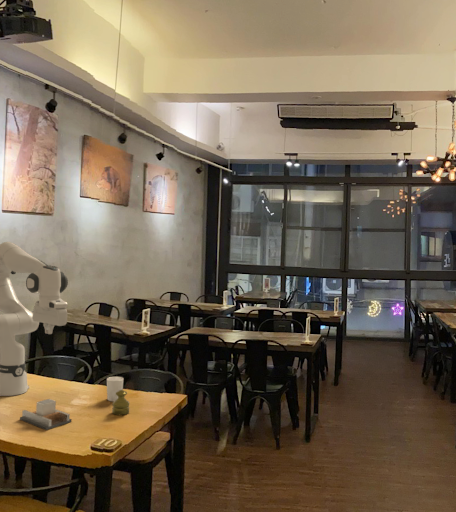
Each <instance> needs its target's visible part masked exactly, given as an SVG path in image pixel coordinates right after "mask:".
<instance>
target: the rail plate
mask: <svg viewBox="0 0 456 512" xmlns="http://www.w3.org/2000/svg"><path fill="white" fill-rule="evenodd" d="M21 413H22V414H21V415H22V416H20V417H19V420H20V421H23V422H25V423H27V424H30V425H32V426H35V427H38V428H40V429H43V430H44V431H48V430H51V429H54V428H57V427H60V426H62V425H63V426H64V425H66V424H69V423H71V422H72V419H71V418H70V417H71V416H70V415H71V414H70V413H69V412H68V413H67V412H65V411H61V410H59V409H57V408H56V409H55V413H52V414H49V415H45V416H40V415H37V414H36V410H35V411H28V410H26V409H24V410H22V411H21Z"/></svg>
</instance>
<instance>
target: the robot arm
mask: <svg viewBox="0 0 456 512" xmlns="http://www.w3.org/2000/svg"><path fill="white" fill-rule="evenodd" d="M16 274H28V276H27V277H26V279H25V286H26V289H27V290H28V291H29V293H32V294H39V297H38V300H37V301H36V302H35V303H34V305H33V310H32V311H31V310H29V309H28V308H26V307H25V306H24V305H23V304H22V302H21V301H20V300H19V298H18V296H17V293H16V291H15V288H14V286H13V283H12V280H11V275H16ZM68 285H69V279H68V277H67V275H66V274H65V272H63V271H61V270H60V267H58V266H55V265H48V264H47V263H45V262H44V261H42V260H41V259H39V258H36V257H35V256H32V255H31V254H29V253H28V252H26V251H25V250H24V249H23V248H21V246H19V245H17V244H15V243H13V242H12V241H5V242H2V243H0V312H2V313H0V396H1V397H2V396H5V397H8V396H9V397H10V396H18V395H22V394H24V393H26V392H28V389H30V385H28V375H27V371H26V367H27V365H26V362H25V359H26V356H25V355H26V353H25V352H26V348H25V346H24V345H23V344H22V343H21V342H18V341H16V336H19V335H20V336H21V335H27V334H29V333H33V332H35V331H37V330H38V328H39V325H40V323H42V325H43V327H44V333H45V334H48V335H52V334H53V330H54V327H55V326H57V327H62V326H66V325H67V323H68V310H67V308H68V307H69V306H68V302H67V301H65V300H64V299H62V298H61V294H62V293H64V291H65V290H66V289H67V288H68Z"/></svg>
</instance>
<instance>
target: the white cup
mask: <svg viewBox="0 0 456 512" xmlns="http://www.w3.org/2000/svg"><path fill="white" fill-rule="evenodd" d="M119 390H124V377H123V376H110V377H107V378H106V394H107V395H106V396H107V401H109V402H114V401H116V400H117V399H118V396H117V395H116V392H118V391H119Z"/></svg>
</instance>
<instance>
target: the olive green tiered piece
mask: <svg viewBox="0 0 456 512" xmlns="http://www.w3.org/2000/svg"><path fill="white" fill-rule="evenodd" d="M127 394H128V392H127V391H126V390H124V389H123V390H119V391H118V392H116V395H117V396H118V399H117V400H116V401H112V404H111V405H112V410H111V411H112V414H113V415H115V416H125V415H128V414H129V413H130V407H129V406H130V402H129V400H127V399H126V395H127Z"/></svg>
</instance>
